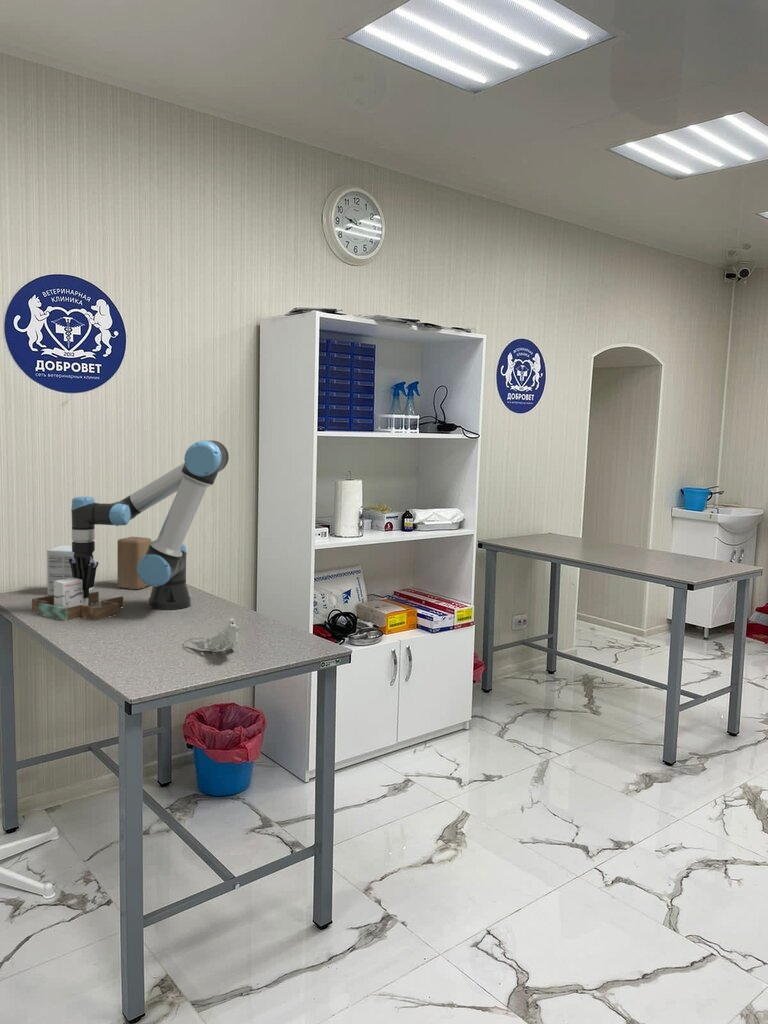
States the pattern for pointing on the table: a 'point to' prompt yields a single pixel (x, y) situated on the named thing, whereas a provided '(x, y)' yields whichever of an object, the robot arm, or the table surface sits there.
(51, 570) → the supplement box
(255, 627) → the table surface
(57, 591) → the ink box
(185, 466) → the robot arm
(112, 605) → the brown wooden tray
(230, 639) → the bird figurine
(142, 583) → the block
